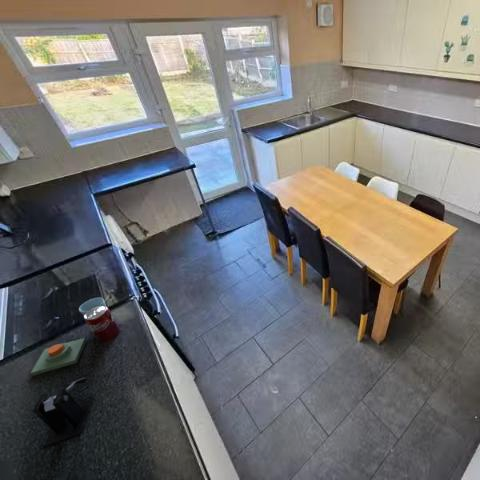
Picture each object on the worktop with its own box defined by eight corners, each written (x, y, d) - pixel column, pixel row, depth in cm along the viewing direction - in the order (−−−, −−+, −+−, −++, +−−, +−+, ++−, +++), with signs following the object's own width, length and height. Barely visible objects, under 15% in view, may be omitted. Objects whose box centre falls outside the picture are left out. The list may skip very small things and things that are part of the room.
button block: (34, 377, 88) (26, 369, 86) (47, 353, 96) (41, 345, 94) (78, 364, 91) (72, 356, 89) (87, 341, 99) (82, 334, 97)
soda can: (107, 328, 105) (93, 305, 99) (125, 328, 104) (112, 305, 98) (93, 343, 99) (77, 320, 93) (112, 343, 98) (97, 320, 92)
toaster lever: (69, 388, 80) (67, 380, 80) (87, 382, 82) (85, 375, 82) (39, 413, 68) (36, 404, 68) (61, 406, 69) (58, 397, 69)
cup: (86, 330, 104) (73, 310, 99) (102, 316, 111) (91, 296, 105) (103, 332, 103) (91, 312, 98) (119, 317, 110) (108, 298, 104)
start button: (48, 357, 90) (45, 354, 89) (53, 349, 93) (50, 346, 92) (61, 354, 91) (58, 350, 90) (65, 345, 94) (63, 342, 93)
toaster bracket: (61, 411, 78) (38, 387, 72) (94, 400, 80) (74, 376, 74) (45, 448, 70) (18, 425, 64) (82, 435, 72) (59, 411, 66)
